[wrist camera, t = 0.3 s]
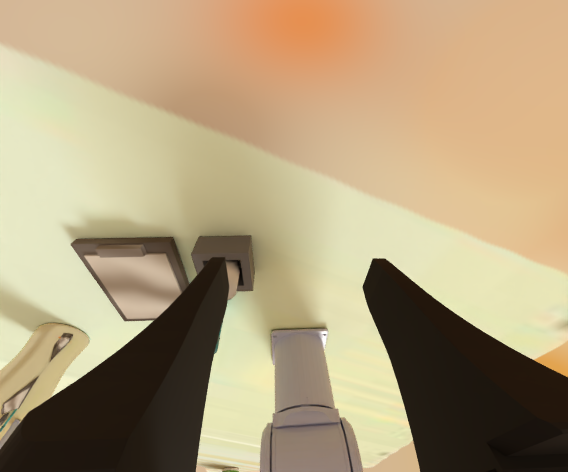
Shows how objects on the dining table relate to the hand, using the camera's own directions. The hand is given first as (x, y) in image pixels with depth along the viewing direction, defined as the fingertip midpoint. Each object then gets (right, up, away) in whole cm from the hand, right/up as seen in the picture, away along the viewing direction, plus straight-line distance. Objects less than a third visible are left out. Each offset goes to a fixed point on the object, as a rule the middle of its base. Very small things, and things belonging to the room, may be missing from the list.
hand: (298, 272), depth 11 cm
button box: (-6, 0, +12) cm, 14 cm away
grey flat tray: (-16, -3, +14) cm, 21 cm away
